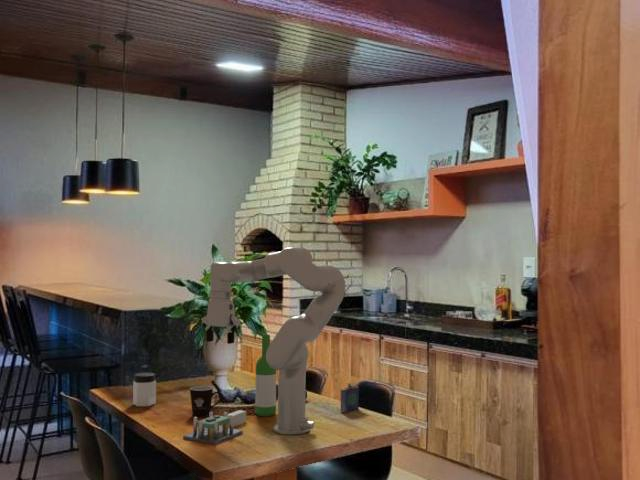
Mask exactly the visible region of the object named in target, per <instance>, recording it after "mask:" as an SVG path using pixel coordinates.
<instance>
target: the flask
mask: <svg viewBox="0 0 640 480" xmlns="http://www.w3.org/2000/svg"><path fill="white" fill-rule="evenodd" d="M346 385H347V386H346V387H344V388H340V413H341V414H347V413H351V412H355V411H359V408H360V407H359V402H360V401H359V400H360V396H359V394H360V387H359V386H357V385H352V384H351V383H350V382H347V383H346Z"/></svg>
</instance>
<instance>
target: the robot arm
mask: <svg viewBox="0 0 640 480" xmlns="http://www.w3.org/2000/svg"><path fill="white" fill-rule="evenodd" d="M313 261H314V260H313V255H312V253H311V252H310V251H309V250H308V249H307V248H304V247H302V246H301V247H300V246H299V247H298V246H297V247H294V246H291V247H286V248H285V247H284V248H283V249H282V250H281V251H276V252H272V253H271V252H270V253H267V254H266V255H265V256H264V257H263V258H260V259H255V260H250V261H232V262H226V261H216V262H212V263H211V264H210V275H209V276H210V283H209V284H210V291H209V294H210V295H209V296H210V298H209V299H208V304H207V310H206V311H207V312H206V315H205V316H203V317H201V318H200V320H201V323H202V326H203V328H204V330H205V332H206V342H209V343H210V342H213V341H214V330H213V329H214V327H215V328H216V327H218V328H225V329H226V330H227V331H228V332H227V333H226V334H227V337H226V338H227V342H226V343H227V344H228V345H230V344H234V343H235V333H236V331H237V330H238V328H239V326H240V324H241V320H240V319H239V318H237V317H236V313H235V304H234V299H232V297H233V296H234V293H232V283H233V284H238V283H239V284H240V283H248V282H249V283H250V282H255V281H259V280H265V279H269V278H276V277H281V276H286V275H287V276H288V277H289V278H291V279H292V280H293V281H295V282H296V284H298V285H300V286H302V288H304V289H305V290H307V291H310V292H315V293H316V292H317V293H318V294H317V295H316V296H315V297H314V298H313V299H312V300H311V301H310V304H309V305H308V306H307V308H306V310H304V312H303V313H302V314H300V315H296V316H292V317H290V318H288V319H287V320H286V321H285V322H284V323H283V324H282V326H281V327H280V329H279V330H278V331H277V333H276V335H275V336H274V338H273V339H272V340H271V341H270V345H269V347H268V349H267V352H266V360H267V363H268V365H269V366H270V367H271V368H273V369H275V370H276V371H278V376H277V377H278V378H277V385H278V397H277V423H275V425H273V428H272V429H273V431H274V432H275V433H277V434H281V435H287V436H288V435H292V436H293V435H301V434H305V433H309V431H310V430H314V428H315V422H314V421H309V417H308V416H306V400H305V390H306V378H307V377H306V375H307V374H306V373H307V365H308V357H309V351H308V350H309V349H308V346H307V345H306V344H308V343H311V342H313V341H315V340H317V339H318V338H319V336H320V335H321V333H322V332H323V330H324V328H325V327H326V326H327V325H328V322H330V320H331V318H332V316H333V315H334V314H335V312H336V311H337V309H338V307H339V306H340V304H341V303H342V301H343V299H344V297H345V293H346V281H345V277H344V275H343V273H342V271H341V270H340V269H339V268H338V267H336V266H333V265H316V264H314V263H313Z"/></svg>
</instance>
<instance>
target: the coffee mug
mask: <svg viewBox="0 0 640 480" xmlns="http://www.w3.org/2000/svg"><path fill="white" fill-rule="evenodd" d="M213 391H214V388H213V386H211V385H209V386H208V385H197V386H192V387H190V388H189V393H190V394H189V395H190V401H191V411H192V413H191V414H192V416H193V417H197V418H204V417H203V416H205V417H208V416H207V415H209V412H211V409H212V408H213V407H214V406H216V405H218V404H219V403H220V402H221V401H222V400H223V397H224V396H223V394H222V392H221V391H214V392H213ZM215 394H219V395H220V399H219V400H218V401H217V402H215V403H214V404H212V402H213V401H212V400H213V397H214V396H215Z"/></svg>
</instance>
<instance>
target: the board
mask: <svg viewBox="0 0 640 480" xmlns="http://www.w3.org/2000/svg"><path fill="white" fill-rule="evenodd" d="M201 420H202V421H203V428H209V429H212V428H214V421H218V426H220V427H221V426H222V425H223V424H226V423H228V422H230V417H225V416H224V415H218V414H215V415H213V416H212V417H209V416H208V417H206V418H204V419H201ZM199 421H200V420H197V428H198V427H199Z"/></svg>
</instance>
